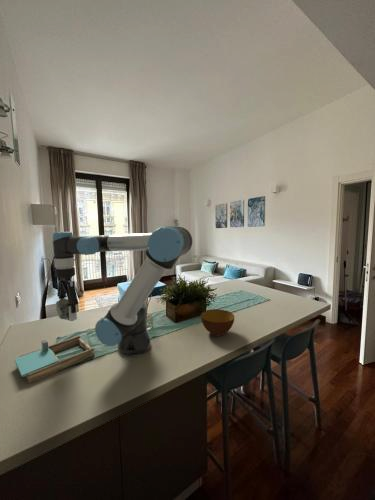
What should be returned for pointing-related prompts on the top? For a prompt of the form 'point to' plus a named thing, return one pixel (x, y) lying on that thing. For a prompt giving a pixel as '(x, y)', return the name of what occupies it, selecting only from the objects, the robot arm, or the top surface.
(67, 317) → the stone
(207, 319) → the bowl
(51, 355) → the lid
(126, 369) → the top surface
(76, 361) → the wooden box
